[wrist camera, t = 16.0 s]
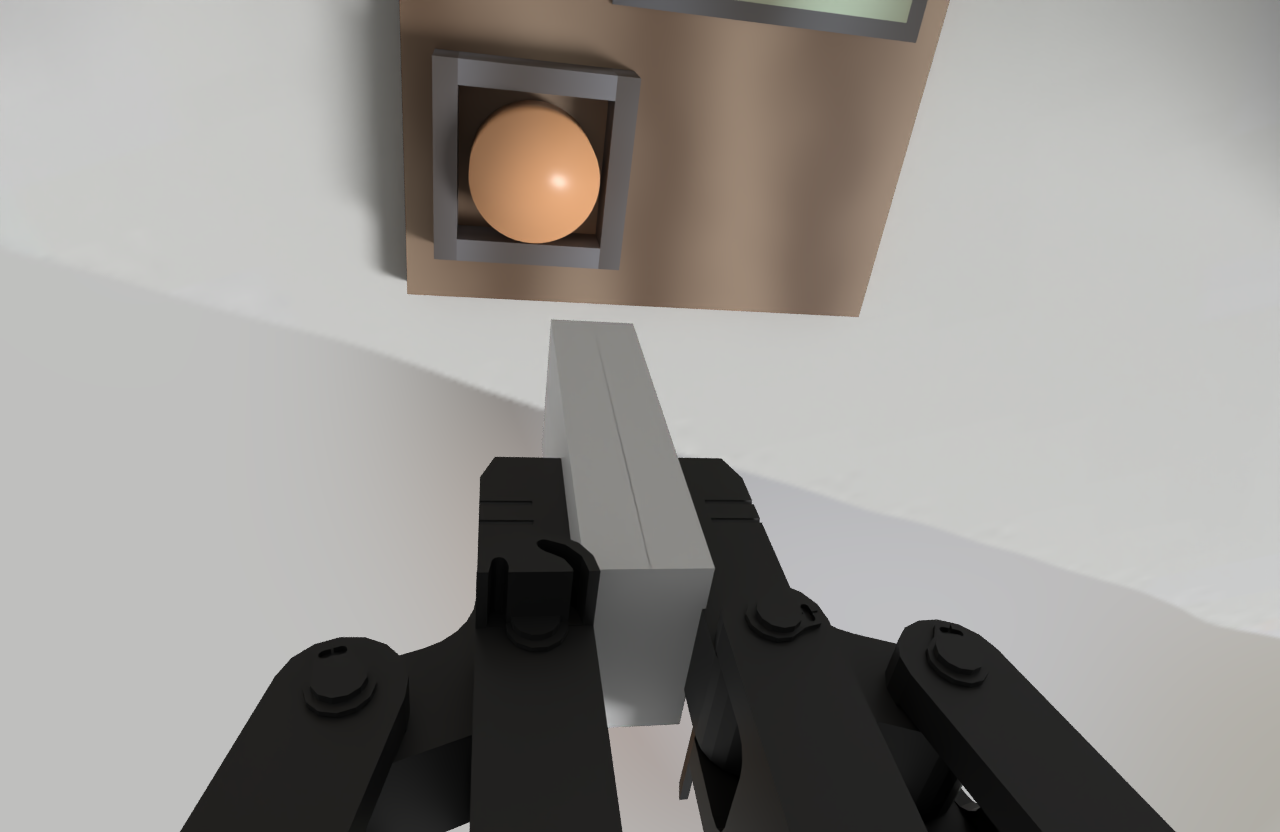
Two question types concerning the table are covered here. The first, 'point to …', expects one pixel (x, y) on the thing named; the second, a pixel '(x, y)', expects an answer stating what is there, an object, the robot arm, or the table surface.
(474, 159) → the button
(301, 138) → the table surface
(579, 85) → the picture board
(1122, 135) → the table surface
